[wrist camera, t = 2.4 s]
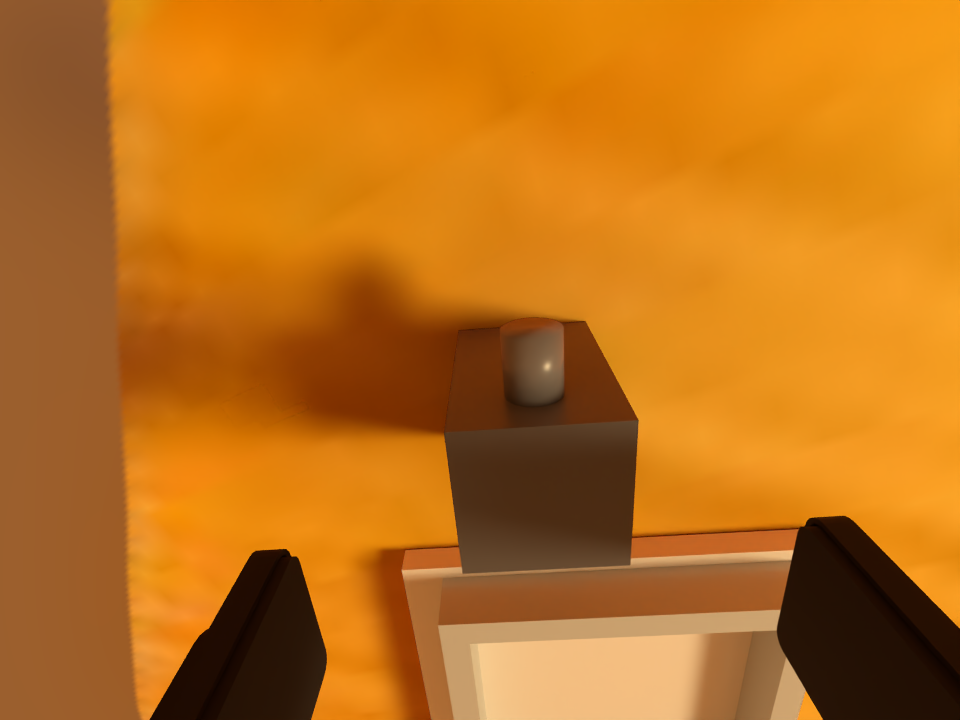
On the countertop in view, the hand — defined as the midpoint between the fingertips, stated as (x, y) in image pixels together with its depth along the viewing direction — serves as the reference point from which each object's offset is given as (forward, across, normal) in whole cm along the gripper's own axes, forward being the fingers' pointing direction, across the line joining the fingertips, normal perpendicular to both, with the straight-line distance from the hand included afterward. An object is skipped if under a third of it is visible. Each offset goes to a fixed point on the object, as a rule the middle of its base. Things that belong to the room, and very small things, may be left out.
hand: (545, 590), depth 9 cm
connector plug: (+8, 0, 0) cm, 8 cm away
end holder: (+8, -3, +14) cm, 16 cm away
